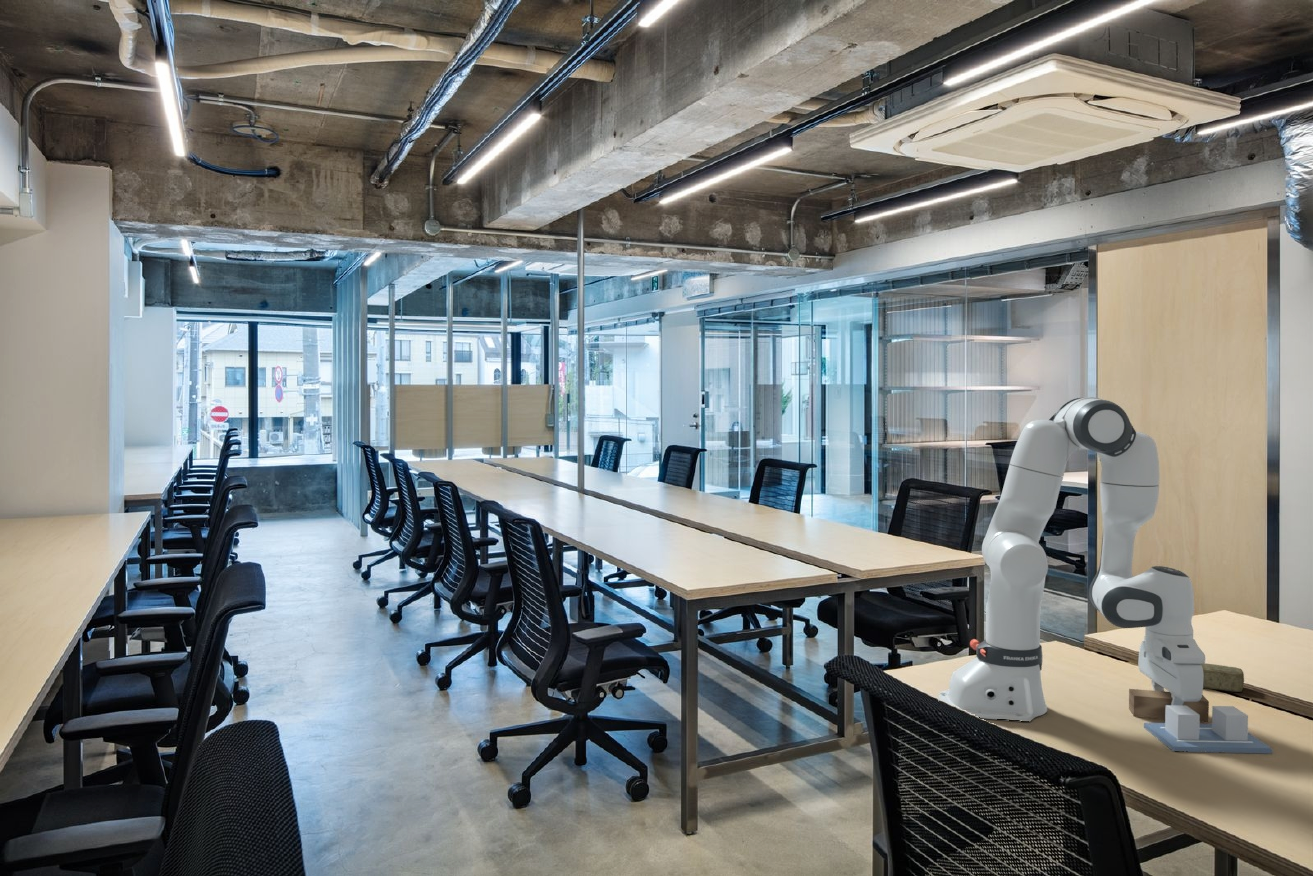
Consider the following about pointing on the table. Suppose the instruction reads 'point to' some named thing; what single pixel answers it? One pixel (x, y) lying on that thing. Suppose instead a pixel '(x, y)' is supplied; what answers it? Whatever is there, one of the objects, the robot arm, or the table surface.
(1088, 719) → the table surface
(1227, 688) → the stone block
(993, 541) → the robot arm
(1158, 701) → the walnut beam
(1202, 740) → the bridge base
